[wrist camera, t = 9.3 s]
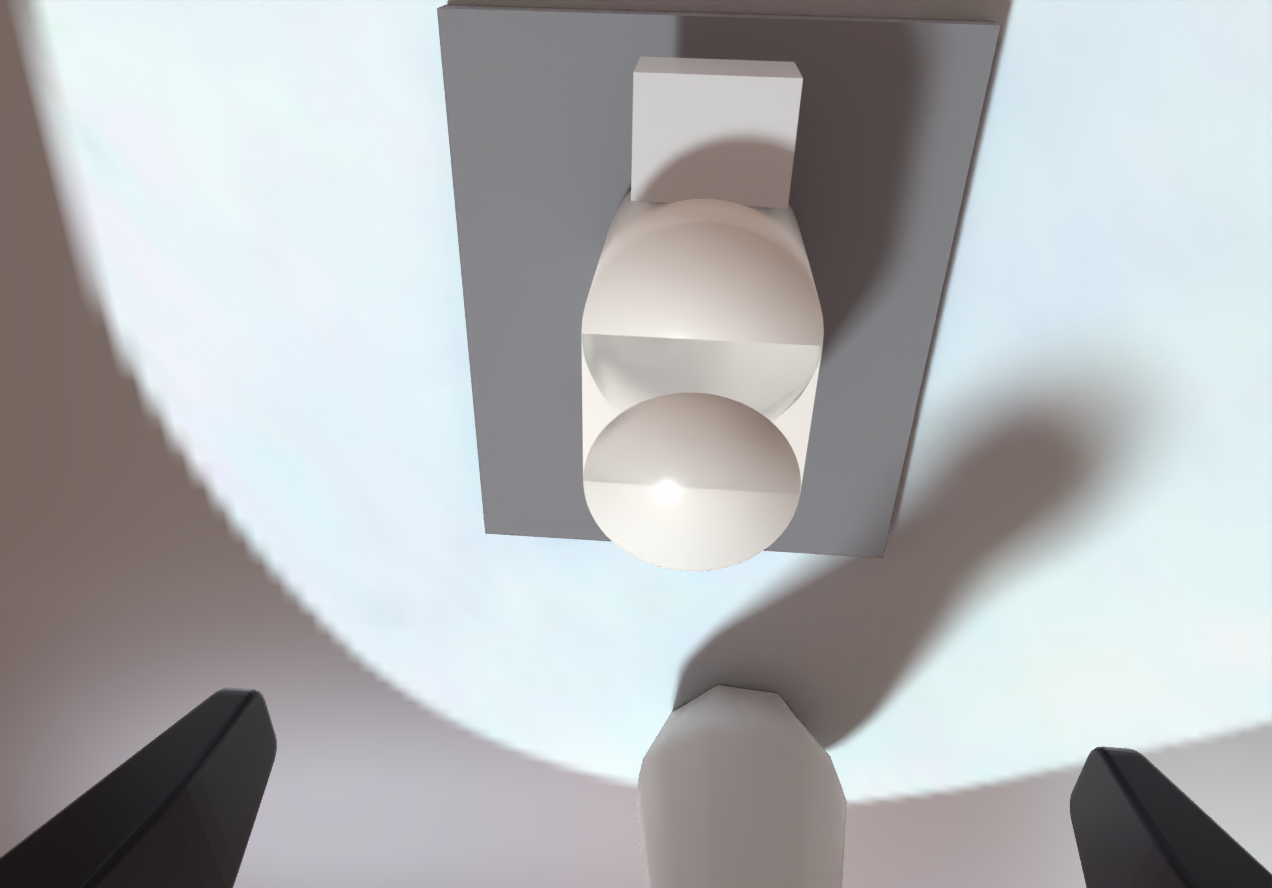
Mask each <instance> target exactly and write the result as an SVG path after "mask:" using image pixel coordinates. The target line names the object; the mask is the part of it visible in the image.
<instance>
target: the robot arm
mask: <svg viewBox="0 0 1272 888" xmlns="http://www.w3.org/2000/svg"><path fill="white" fill-rule="evenodd" d="M276 750H277V740H276V735H275V731H274V728H273V725H272V722H271V718H270V715H269V711H268V708H267V705H266V702H265V699H264V697H263V695H262V693H260V692H259V691H258V690H255V689H243V688H224V689H221V690H219V691H217V692H216V693H214V694H213V695H211V696H210V697H209V698H207V699H206V700H205V701H203V702H202V703H201V704H200V705H198V706H197V707H196V708H194V709H193V710H192V711H190V712H189V713H188V714H187V715H185V716H184V717H183V718H182V719H180V720H179V721H177V722H176V723H175V724H174V725H172V726H171V727H170V728H168V729H167V730H166V731H164V732H163V733H162V734H160V735H159V736H158V737H157V738H155V739H154V740H153V741H152V742H150V743H149V744H148V745H146V746H145V747H144V748H142V749H141V750H140V751H138V752H137V753H136V754H135V755H133V756H132V757H131V758H129V759H128V760H127V761H126V762H124V763H123V764H121V765H120V766H119V767H118V768H116V769H115V770H114V771H112V772H111V773H110V774H108V775H107V776H106V777H104V778H103V779H102V780H101V781H99V782H98V783H97V784H95V785H94V786H93V787H92V788H90V789H89V790H88V791H86V792H85V793H84V794H82V795H81V796H80V797H78V798H77V799H76V800H75V801H73V802H72V803H71V804H69V805H68V806H67V807H65V808H64V809H63V810H62V811H60V812H59V813H58V814H56V815H55V816H54V817H52V818H51V819H50V820H49V821H47V822H46V823H45V824H43V825H42V826H41V827H39V828H38V829H37V830H35V831H34V832H33V833H32V834H30V835H29V836H28V837H26V838H25V839H24V840H23V841H21V842H20V843H19V844H17V845H16V846H15V847H13V848H12V849H11V850H9V851H8V852H7V853H6V854H4V855H3V856H2V857H0V888H233V886H234V883H235V880H236V877H237V874H238V871H239V868H240V865H241V862H242V859H243V856H244V853H245V849H246V847H247V844H248V841H249V837H250V834H251V831H252V828H253V825H254V822H255V819H256V816H257V813H258V810H259V807H260V803H261V800H262V797H263V794H264V791H265V788H266V785H267V782H268V779H269V776H270V773H271V770H272V767H273V763H274V760H275V756H276ZM1070 814H1071V820H1072V825H1073V829H1074V834H1075V838H1076V842H1077V847H1078V851H1079V856H1080V860H1081V865H1082V869H1083V873H1084V878H1085V882H1086V887H1087V888H1272V874H1271V873H1270V872H1269V871H1268V870H1267V869H1266V868H1265V867H1264V866H1262V865H1261V864H1260V863H1259V862H1258V861H1257V860H1256V859H1255V858H1254V857H1253V856H1252V855H1251V854H1249V853H1248V852H1247V851H1246V850H1245V849H1244V848H1243V847H1242V846H1241V845H1240V844H1239V843H1238V842H1236V841H1235V840H1234V839H1233V838H1232V837H1231V836H1230V835H1229V834H1228V833H1227V832H1226V831H1225V830H1224V829H1222V828H1221V827H1220V826H1219V825H1218V824H1217V823H1216V822H1215V821H1214V820H1213V819H1212V818H1211V817H1209V816H1208V815H1207V814H1206V813H1205V812H1204V811H1203V810H1202V809H1201V808H1200V807H1199V806H1198V805H1196V804H1195V803H1194V802H1193V801H1192V800H1191V799H1190V798H1189V797H1188V796H1187V795H1186V794H1185V793H1184V792H1182V791H1181V790H1180V789H1179V788H1178V787H1177V786H1176V785H1175V784H1174V783H1173V782H1172V781H1171V780H1169V779H1168V778H1167V777H1166V776H1165V775H1164V774H1163V773H1162V772H1161V771H1160V770H1159V769H1158V768H1157V767H1155V766H1154V765H1153V764H1152V763H1151V762H1150V761H1149V760H1148V759H1147V758H1146V757H1144V756H1143V755H1142V754H1140V753H1139V752H1137V751H1135V750H1132V749H1127V748H1113V747H1097V748H1095V749H1094V750H1092V751H1091V752H1090V754H1089V756H1088V758H1087V760H1086V762H1085V765H1084V767H1083V769H1082V771H1081V773H1080V776H1079V778H1078V780H1077V783H1076V785H1075V787H1074V789H1073V791H1072V794H1071V799H1070Z"/></svg>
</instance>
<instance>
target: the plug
mask: <svg viewBox="0 0 1272 888" xmlns="http://www.w3.org/2000/svg"><path fill="white" fill-rule="evenodd" d="M802 83H803V77H802V75H801V73H800V72H799V70H798V68H797V66H796V64H795V62H784V61H756V60H728V59H700V58H672V57H644V56H641V57H640V59H639V61H638V63H637V65H636V68H635V70H634V72H633V121H632V173H631V189H630V191H629V192H628V193H627V194H626V195H625V197H624V198H623V200H622V201H621V202H620V204H619V206H618V208H617V210H616V212H615V213H614V215H613V218H612V221H611V224H610V227H609V230H608V233H607V236H606V239H605V243H604V246H603V249H602V252H601V256H600V259H599V262H598V265H597V268H596V272H595V275H594V278H593V281H592V284H591V288H590V291H589V294H588V297H587V301H586V304H585V308H584V313H583V318H582V332H581V343H582V425H583V485H584V494H585V498H586V502H587V505H588V508H589V510H590V512H591V515H592V516H593V518H594V520H595V522H596V523H597V525H598V526H599V527H600V529H601V530H602V531H603V533H604V534H605V535H606V536H607V537H608V538H609V539H610V540H611V541H612V542H613V543H614V544H616V545H617V546H618V547H620V548H621V549H622V550H624V551H625V552H627V553H629V554H630V555H632V556H634V557H635V558H638V559H640V560H642V561H644V562H647V563H649V564H652V565H656V566H659V567H663V568H667V569H672V570H680V571H708V570H715V569H720V568H725V567H729V566H732V565H735V564H738V563H741V562H743V561H745V560H748V559H750V558H752V557H753V556H755V555H757V554H759V553H760V552H762V551H763V550H764V549H766V548H767V547H769V546H770V545H771V544H772V543H773V542H774V541H775V540H776V539H777V538H778V537H779V536H780V535H781V534H782V533H783V531H784V530H785V529H786V528H787V526H788V525H789V523H790V521H791V519H792V518H793V516H794V513H795V511H796V508H797V506H798V502H799V497H800V492H801V486H802V479H803V473H804V466H805V459H806V453H807V446H808V440H809V433H810V426H811V420H812V413H813V407H814V400H815V393H816V387H817V380H818V374H819V367H820V360H821V354H822V347H823V336H824V327H823V315H822V311H821V306H820V302H819V298H818V294H817V291H816V287H815V283H814V279H813V276H812V272H811V268H810V265H809V261H808V257H807V254H806V250H805V246H804V243H803V239H802V235H801V232H800V228H799V224H798V221H797V219H796V216H795V213H794V211H793V209H792V207H791V205H790V204H789V194H790V185H791V177H792V168H793V160H794V151H795V142H796V134H797V125H798V117H799V108H800V100H801V91H802Z"/></svg>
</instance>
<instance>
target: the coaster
mask: <svg viewBox="0 0 1272 888" xmlns="http://www.w3.org/2000/svg"><path fill="white" fill-rule="evenodd" d="M437 14H438V24H439V35H440V46H441V57H442V68H443V79H444V89H445V100H446V111H447V122H448V133H449V144H450V155H451V165H452V176H453V187H454V198H455V209H456V220H457V231H458V241H459V252H460V263H461V274H462V285H463V296H464V307H465V317H466V328H467V339H468V350H469V361H470V372H471V383H472V393H473V404H474V415H475V426H476V437H477V448H478V459H479V469H480V480H481V491H482V502H483V513H484V524H485V534H502V535H518V536H534V537H550V538H566V539H583V540H599V541H611V540H610V539H609V538H608V537H607V536H606V535H605V534H604V533H603V531H602V530H601V529H600V527H599V526H598V525H597V523H596V522H595V520H594V518H593V516H592V515H591V512H590V510H589V508H588V505H587V502H586V498H585V494H584V485H583V425H582V343H581V332H582V318H583V313H584V308H585V304H586V301H587V297H588V294H589V291H590V288H591V284H592V281H593V278H594V275H595V272H596V268H597V265H598V262H599V259H600V256H601V252H602V249H603V246H604V243H605V239H606V236H607V233H608V230H609V227H610V224H611V221H612V218H613V215H614V213H615V212H616V210H617V208H618V206H619V204H620V202H621V201H622V200H623V198H624V197H625V195H626V194H627V193H628V192H629V191H630V189H631V173H632V121H633V72H634V70H635V68H636V65H637V63H638V61H639V59H640V57H641V56H644V57H672V58H700V59H728V60H756V61H784V62H795V64H796V66H797V68H798V70H799V72H800V73H801V75H802V77H803V83H802V91H801V100H800V108H799V117H798V125H797V134H796V142H795V151H794V160H793V168H792V177H791V185H790V194H789V204H790V205H791V207H792V209H793V211H794V213H795V216H796V219H797V221H798V224H799V228H800V232H801V235H802V239H803V243H804V246H805V250H806V254H807V257H808V261H809V265H810V268H811V272H812V276H813V279H814V283H815V287H816V291H817V294H818V298H819V302H820V306H821V311H822V315H823V327H824V336H823V347H822V354H821V360H820V367H819V374H818V380H817V387H816V393H815V400H814V407H813V413H812V420H811V426H810V433H809V440H808V446H807V453H806V459H805V466H804V473H803V479H802V486H801V492H800V497H799V502H798V506H797V508H796V511H795V513H794V516H793V518H792V519H791V521H790V523H789V525H788V526H787V528H786V529H785V530H784V531H783V533H782V534H781V535H780V536H779V537H778V538H777V539H776V540H775V541H774V542H773V543H772V544H771V545H770V546H769V547H767V548H766V549H764V550H763V551H777V552H794V553H810V554H826V555H842V556H859V557H875V558H883V555H884V550H885V546H886V541H887V537H888V532H889V528H890V523H891V519H892V514H893V510H894V505H895V501H896V496H897V492H898V487H899V483H900V478H901V473H902V469H903V464H904V460H905V455H906V451H907V446H908V442H909V437H910V433H911V428H912V424H913V419H914V415H915V410H916V406H917V401H918V397H919V392H920V388H921V383H922V379H923V374H924V370H925V365H926V360H927V356H928V351H929V347H930V342H931V338H932V333H933V329H934V324H935V320H936V315H937V311H938V306H939V302H940V297H941V293H942V288H943V284H944V279H945V275H946V270H947V266H948V261H949V257H950V252H951V247H952V243H953V238H954V234H955V229H956V225H957V220H958V216H959V211H960V207H961V202H962V198H963V193H964V189H965V184H966V180H967V175H968V171H969V166H970V162H971V157H972V153H973V148H974V144H975V139H976V134H977V130H978V125H979V121H980V116H981V112H982V107H983V103H984V98H985V94H986V89H987V85H988V80H989V76H990V71H991V67H992V62H993V58H994V53H995V49H996V44H997V40H998V35H999V30H1000V26H1001V25H999V24H996V23H994V22H992V21H964V20H931V19H897V18H864V17H831V16H797V15H764V14H731V13H697V12H664V11H631V10H597V9H564V8H531V7H497V6H464V5H444V6H442V7H439V8H437Z"/></svg>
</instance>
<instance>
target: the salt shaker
mask: <svg viewBox="0 0 1272 888" xmlns="http://www.w3.org/2000/svg"><path fill="white" fill-rule="evenodd" d="M846 803H847V802H846V799H845V796H844V793H843V790H842V787H841V784H840V781H839V779H838V776H837V773H836V771H835V768H834V765H833V763H832V760H831V757H830V756H829V755H828V753H827V752H826V751H825V750H824V749H823V747H822V746H821V745H820V744H819V743H818V742H817V740H816V739H815V738H814V737H813V736H812V734H811V733H810V732H809V731H808V730H807V729H806V727H805V726H804V725H803V724H802V723H801V721H800V720H799V719H798V718H797V717H796V716H795V714H794V713H793V712H792V711H791V709H790V708H789V707H788V705H787V704H786V703H785V701H784V700H783V699H782V697H781V696H780V695H779V693H773V692H765V691H758V690H750V689H743V688H735V687H728V686H720V685H716V686H714V687H713V688H711V689H709V690H708V691H706V692H704V693H703V694H701V695H699V696H698V697H696V698H695V699H693V700H691V701H690V702H688V703H686V704H685V705H683V706H681V707H680V708H678V709H677V710H675V711H673V712H672V713H671V714H670V716H669V718H668V719H667V721H666V723H665V724H664V726H663V727H662V729H661V731H660V732H659V734H658V736H657V737H656V739H655V740H654V742H653V744H652V745H651V747H650V749H649V750H648V752H647V753H646V755H645V757H644V758H643V762H642V766H641V770H640V773H639V780H638V786H637V793H636V799H635V808H636V817H637V825H638V833H639V841H640V848H641V856H642V864H643V872H644V880H645V887H646V888H842V878H843V858H844V841H845V839H844V838H845V821H846Z"/></svg>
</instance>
